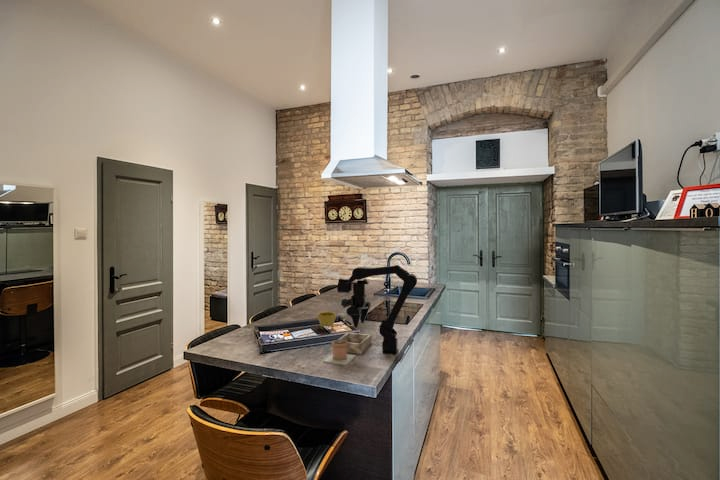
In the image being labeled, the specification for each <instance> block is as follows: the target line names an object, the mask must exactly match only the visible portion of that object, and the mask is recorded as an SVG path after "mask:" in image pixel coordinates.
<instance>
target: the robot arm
mask: <svg viewBox="0 0 720 480" xmlns="http://www.w3.org/2000/svg"><path fill="white" fill-rule="evenodd" d="M351 271H352V272H351V276H350V277H348V278H339V279H338V282H337V287H336V288H337V293H341V294H343V293H344V294H347V293H348V294H349V293H351V292H352V295H351V298H348V299H347V298H343V299H342V300H341V303H340V304H341V306H342V308H346V315H348V316H350V318H351V319H352V323H353V326H354V328H355V329H356V328H357V329H358V326H359V323H360V324H364V323H365V320H366V317H367V315H368V313H369V311H370V308H371V307H372V305H371V302H370V301H366V298H367V294H366V285H368V284H369V283H370V282H369V281H368V280H367V279H366V278H369V277H374V276H375V277H376V276H383V275H384V276H386V275H396V276H397V277H399V279H400V280H401V281H403V283H402V287H401V291H400V293H399V295H398V296H397V299H396V301H395V303H394V304H393V306H392V307H393V308H392V309H391V311H390V313H389V314H388V317H386V316H384V317H383V319H382V321H381V323H380V325H379V326H378V328H379V334H380V336H381V337H382V338H383V339H382V340H383V341H382V342H381V350H382V354H389V355H391V354H392V355H396V354H397V353H398V351H399V348H398V345H399V344H398V338H396V337H397V334H398V332H397V331H396V330H395V329H394V326H395V322H396V320H397V317H398V315H399V314H400V312H401V309H402V308H403V306H404V303H405V302H406V300H407V298H408V295H410V293H411V292H412V291H413V290H414V288H415V287H416V285H417V284H418V278H417V276H416V275H415V274H413V273H409V272H408V270H407V271H406V269H404V268H403V267H401V265H399V264H395V265H389V266H388V265H386V266H377V267H365V266H358V267H355V268H354V269H353V270H351Z"/></svg>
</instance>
